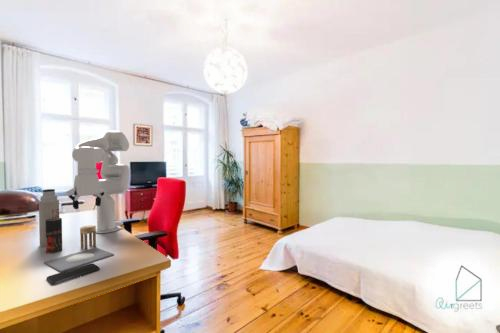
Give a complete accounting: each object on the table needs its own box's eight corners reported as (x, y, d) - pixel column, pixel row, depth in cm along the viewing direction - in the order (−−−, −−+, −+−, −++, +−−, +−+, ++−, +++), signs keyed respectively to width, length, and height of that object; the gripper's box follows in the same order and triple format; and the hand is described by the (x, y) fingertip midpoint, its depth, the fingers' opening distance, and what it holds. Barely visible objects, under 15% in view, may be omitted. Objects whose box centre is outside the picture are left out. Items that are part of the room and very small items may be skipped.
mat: (95, 248, 117) (95, 247, 117) (113, 255, 109) (113, 253, 109) (44, 263, 100) (44, 261, 100) (60, 272, 92) (60, 270, 92)
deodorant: (65, 249, 116) (64, 218, 116) (51, 254, 110) (51, 221, 110) (56, 248, 118) (56, 217, 118) (43, 252, 112) (42, 220, 112)
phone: (100, 268, 94) (52, 283, 82) (100, 271, 94) (52, 286, 82) (92, 262, 99) (45, 276, 87) (92, 265, 99) (45, 279, 87)
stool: (92, 244, 124) (91, 224, 123) (98, 246, 120) (98, 226, 120) (77, 248, 118) (77, 227, 118) (84, 250, 115) (83, 229, 115)
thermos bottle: (63, 242, 127) (62, 188, 127) (48, 247, 119) (47, 190, 119) (51, 241, 129) (50, 188, 128) (35, 246, 121) (34, 190, 120)
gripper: (101, 171, 128) (101, 204, 128) (62, 172, 113) (63, 209, 113) (109, 171, 124) (109, 205, 124) (69, 172, 109) (70, 210, 109)
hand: (87, 207), depth 118 cm, fingers open, 9 cm apart
